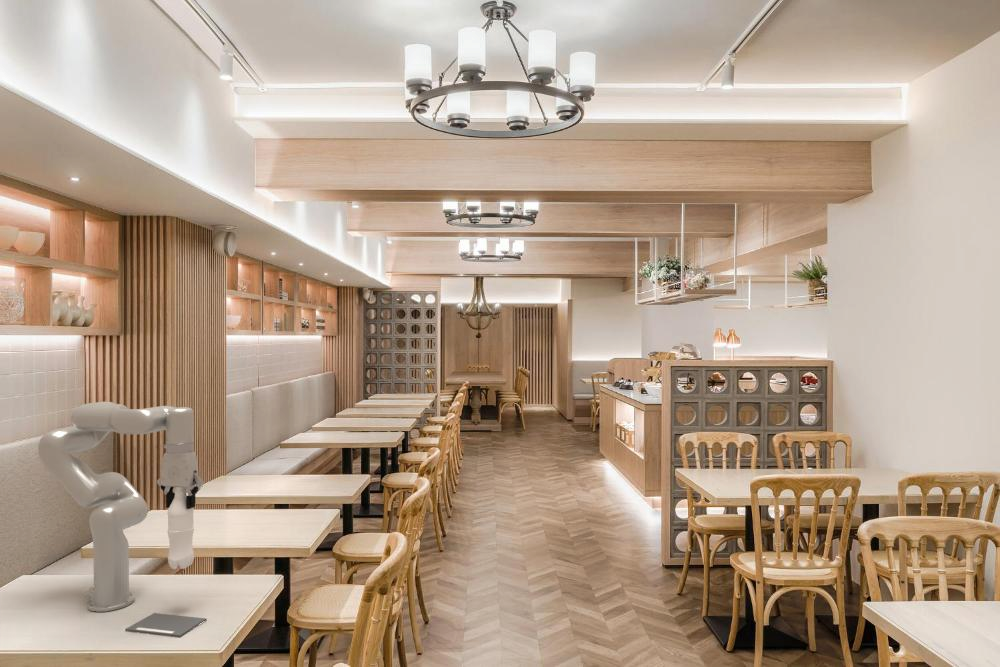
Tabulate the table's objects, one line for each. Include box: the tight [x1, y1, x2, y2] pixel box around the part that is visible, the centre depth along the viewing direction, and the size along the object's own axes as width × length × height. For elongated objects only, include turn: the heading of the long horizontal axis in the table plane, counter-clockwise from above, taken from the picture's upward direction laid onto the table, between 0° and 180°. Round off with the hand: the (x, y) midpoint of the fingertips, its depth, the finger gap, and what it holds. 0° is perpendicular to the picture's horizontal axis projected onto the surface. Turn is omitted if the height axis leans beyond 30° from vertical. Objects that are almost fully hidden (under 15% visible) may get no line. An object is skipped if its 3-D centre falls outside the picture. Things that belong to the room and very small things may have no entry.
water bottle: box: [167, 487, 195, 570], centre depth 200 cm, size 7×7×25 cm
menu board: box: [124, 612, 207, 638], centre depth 189 cm, size 18×11×1 cm, turn 77°
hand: (180, 506), depth 200 cm, fingers closed on water bottle, 6 cm apart
